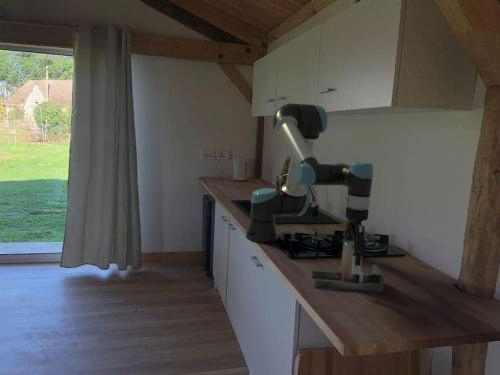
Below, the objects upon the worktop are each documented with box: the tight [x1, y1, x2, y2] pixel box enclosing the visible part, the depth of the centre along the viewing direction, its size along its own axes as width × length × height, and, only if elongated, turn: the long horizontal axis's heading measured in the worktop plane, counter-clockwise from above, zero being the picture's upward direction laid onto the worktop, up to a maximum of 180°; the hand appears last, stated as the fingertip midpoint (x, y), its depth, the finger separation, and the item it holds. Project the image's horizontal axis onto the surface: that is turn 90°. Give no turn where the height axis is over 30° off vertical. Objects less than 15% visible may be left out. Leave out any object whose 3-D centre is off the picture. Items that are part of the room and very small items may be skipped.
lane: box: [310, 264, 386, 293], centre depth 141 cm, size 10×23×6 cm, turn 89°
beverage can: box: [339, 240, 358, 282], centre depth 141 cm, size 6×6×15 cm
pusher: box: [357, 271, 369, 283], centre depth 141 cm, size 7×3×5 cm, turn 179°
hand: (351, 266), depth 141 cm, fingers open, 13 cm apart
